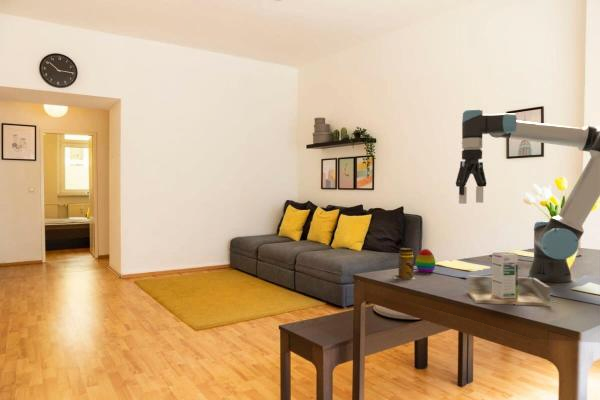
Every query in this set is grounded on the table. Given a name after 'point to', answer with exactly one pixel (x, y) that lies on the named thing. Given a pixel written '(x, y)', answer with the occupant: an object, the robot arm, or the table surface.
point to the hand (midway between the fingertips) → (471, 203)
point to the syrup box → (505, 275)
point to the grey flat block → (528, 294)
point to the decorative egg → (425, 261)
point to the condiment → (405, 264)
